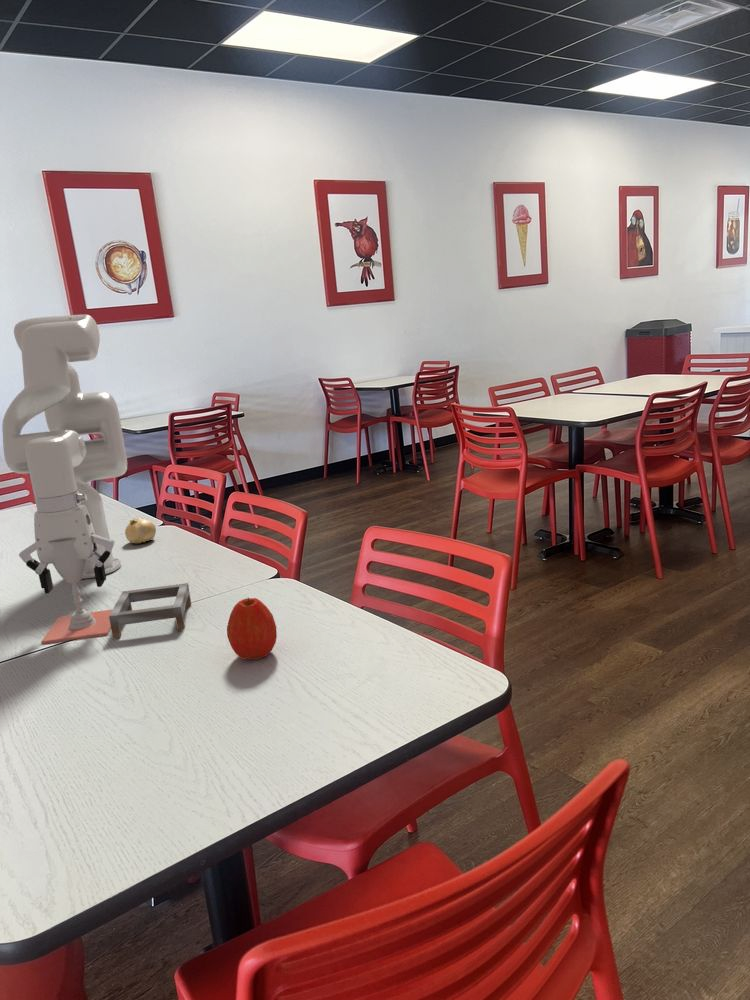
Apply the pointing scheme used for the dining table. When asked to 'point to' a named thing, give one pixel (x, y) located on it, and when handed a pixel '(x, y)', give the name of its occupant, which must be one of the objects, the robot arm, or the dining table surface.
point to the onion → (140, 530)
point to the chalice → (72, 579)
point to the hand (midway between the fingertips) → (75, 587)
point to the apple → (251, 629)
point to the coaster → (64, 633)
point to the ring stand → (126, 615)
